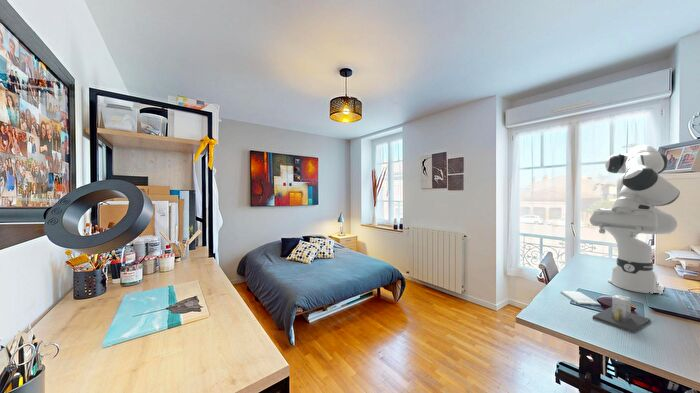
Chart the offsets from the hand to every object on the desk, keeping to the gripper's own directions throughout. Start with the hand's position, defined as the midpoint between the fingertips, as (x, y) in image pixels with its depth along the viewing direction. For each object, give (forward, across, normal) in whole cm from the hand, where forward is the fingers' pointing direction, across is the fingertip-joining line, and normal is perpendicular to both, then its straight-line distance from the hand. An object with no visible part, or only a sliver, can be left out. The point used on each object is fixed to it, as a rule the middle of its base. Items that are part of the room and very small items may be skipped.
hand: (616, 234), depth 106 cm
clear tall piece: (+31, +6, +12) cm, 34 cm away
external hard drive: (+26, -10, +19) cm, 34 cm away
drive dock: (+32, +6, +13) cm, 35 cm away
